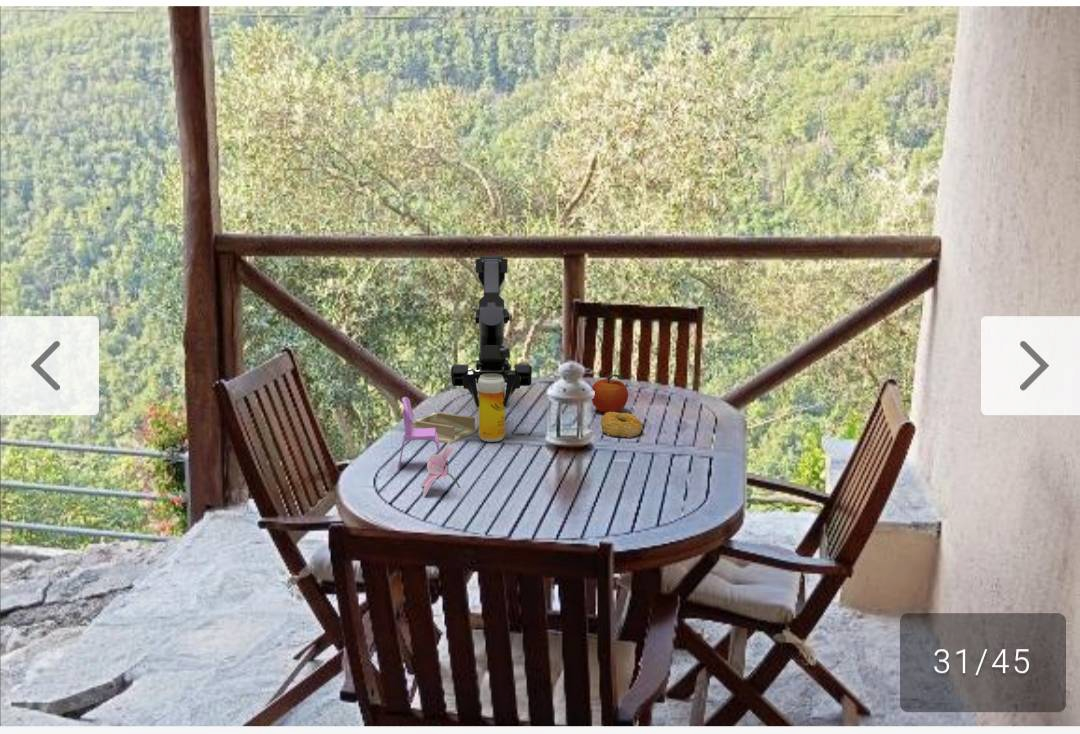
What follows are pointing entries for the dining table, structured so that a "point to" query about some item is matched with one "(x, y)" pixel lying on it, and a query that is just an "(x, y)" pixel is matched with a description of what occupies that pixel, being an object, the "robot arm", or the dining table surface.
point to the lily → (438, 467)
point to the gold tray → (447, 425)
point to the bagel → (621, 424)
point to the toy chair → (413, 432)
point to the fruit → (610, 394)
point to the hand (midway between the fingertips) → (491, 406)
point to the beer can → (491, 407)
